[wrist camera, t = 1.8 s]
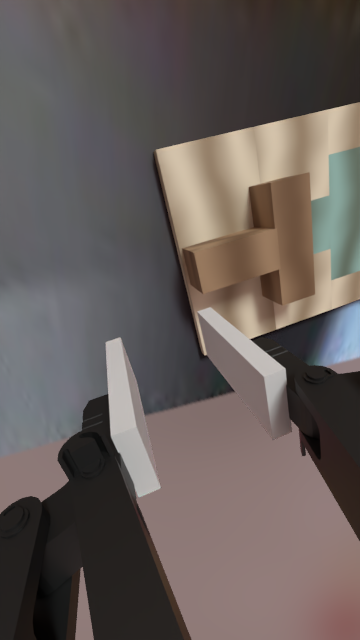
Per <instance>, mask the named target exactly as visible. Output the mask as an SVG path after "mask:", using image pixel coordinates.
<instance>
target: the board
mask: <svg viewBox="0 0 360 640" xmlns="http://www.w3.org/2000/svg"><path fill="white" fill-rule="evenodd" d="M153 153H154V157H155V161H156V165H157V169H158V173H159V178H160V182H161V186H162V190H163V194H164V198H165V202H166V207H167V211H168V215H169V219H170V223H171V227H172V232H173V236H174V240H175V244H176V248H177V252H178V257H179V261H180V265H181V269H182V273H183V277H184V281H185V286H186V290H187V294H188V298H189V302H190V306H191V311H192V315H193V319H194V323H195V327H196V331H197V336H198V340H199V344H200V348H201V351H202V353H203V354H204V355H207V353H206V348H205V344H204V340H203V335H202V331H201V327H200V322H199V318H198V314H197V312H198V311H201V310H204V309H207V308H209V307H211V308H212V309H213V310H214V311H216V312H217V313H218V314H219V315H220V316H222V317H223V318H224V319H225V320H227V321H228V322H229V323H230V324H232V325H233V326H234V327H235V328H236V329H238V330H239V331H240V332H241V333H243V334H244V335H245V336H246V337H247V338H249V339H252V338H254V337H257V336H260V335H263V334H265V333H268V332H271V331H274V330H276V329H279V328H282V327H285V326H287V325H290V324H293V323H296V322H298V321H301V320H304V319H307V318H310V317H312V316H315V315H318V314H321V313H323V312H326V311H329V310H332V309H334V308H337V307H340V306H343V305H345V304H348V303H351V302H354V301H356V300H359V299H360V102H359V103H355V104H350V105H346V106H342V107H337V108H333V109H329V110H325V111H320V112H316V113H312V114H307V115H303V116H299V117H295V118H290V119H286V120H282V121H277V122H273V123H269V124H264V125H260V126H256V127H252V128H247V129H243V130H239V131H234V132H230V133H226V134H222V135H217V136H213V137H209V138H204V139H200V140H196V141H191V142H187V143H183V144H179V145H174V146H170V147H166V148H161V149H157V150H155V151H154V152H153ZM308 172H310V190H311V212H312V234H313V256H314V278H315V295H312V296H309V297H307V298H304V299H301V300H298V301H295V302H292V303H289V304H286V305H284V306H282V305H280V304H278V303H276V302H274V301H272V300H270V299H267V298H265V297H263V296H262V288H261V280H260V276H257V277H254V278H251V279H248V280H245V281H242V282H239V283H236V284H233V285H230V286H227V287H224V288H220V289H217V290H214V291H211V292H208V293H205V294H202V293H201V292H199V291H198V290H197V289H195V288H194V287H193V286H191V284H190V280H189V276H188V272H187V267H186V263H185V259H184V254H183V250H182V248H185V247H188V246H191V245H195V244H198V243H202V242H205V241H208V240H212V239H215V238H219V237H222V236H225V235H229V234H232V233H236V232H239V231H242V230H246V229H249V228H253V227H254V225H253V217H252V209H251V201H250V193H249V187H250V186H254V185H258V184H261V183H265V182H269V181H273V180H276V179H280V178H284V177H289V176H293V175H298V174H303V173H308Z"/></svg>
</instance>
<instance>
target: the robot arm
mask: <svg viewBox="0 0 360 640" xmlns="http://www.w3.org/2000/svg"><path fill="white" fill-rule="evenodd" d="M197 314H198V318H199V322H200V327H201V331H202V335H203V340H204V344H205V348H206V353H207V356H208V357H209V358H210V360H211V361H212V362H213V364H214V365H215V366H216V367H217V369H218V370H219V371H220V373H221V374H222V375H223V376H224V378H225V379H226V380H227V382H228V383H229V384H230V385H231V387H232V388H233V389H234V391H235V392H236V393H237V394H238V396H239V397H240V398H241V400H242V401H243V402H244V403H245V405H246V406H247V407H248V409H249V410H250V411H251V412H252V414H253V415H254V416H255V417H256V419H257V420H258V421H259V423H260V424H261V425H262V427H263V428H264V429H265V430H266V432H267V433H268V434H269V435H270V437H271V438H272V439H273V440H274V439H276V438H279V437H281V436H283V435H286V434H288V433H290V432H292V428H291V420H292V421H293V422H294V423H295V424H296V425H297V426H298V428H299V436H300V447H301V453H302V456H305V455H306V452H305V448H306V449H307V451H308V453H309V455H310V456H311V458H312V460H313V461H314V463H315V465H316V467H317V468H318V470H319V472H320V473H321V475H322V477H323V479H324V480H325V482H326V484H327V486H328V487H329V489H330V491H331V492H332V494H333V496H334V498H335V499H336V501H337V503H338V504H339V506H340V508H341V510H342V511H343V513H344V515H345V516H346V518H347V520H348V522H349V523H350V525H351V527H352V529H353V530H354V532H355V534H356V535H357V537H358V539H359V541H360V371H358V372H351V373H344V374H337V373H336V372H335V371H333V370H331V369H330V368H327V367H324V366H315V365H314V366H309V365H307V364H306V363H304V362H303V361H302V360H300V359H299V358H297V357H296V356H295V355H293V354H292V353H290V352H289V351H287V350H286V349H285V348H283V347H281V345H279V344H278V343H276V342H275V341H274V340H271V339H267V338H264V337H261V338H258V339H255V340H253V341H251V340H250V339H249V338H247V337H246V336H245V335H244V334H243V333H241V332H240V331H239V330H238V329H236V328H235V327H234V326H233V325H232V324H230V323H229V322H228V321H227V320H225V319H224V318H223V317H222V316H220V315H219V314H218V313H217V312H216V311H214V310H213V309H212V308H211V307H209V308H207V309H204V310H201V311H198V312H197ZM106 358H107V377H108V394H107V395H104V396H101V397H98V398H96V399H93V400H90V401H89V402H88V404H87V406H86V407H85V409H84V411H83V423H82V431H81V432H78V433H77V434H75V435H74V436H72V437H71V438H70V439H69V440H68V441H67V442H66V443H65V444H64V445H63V446H62V448H61V450H60V451H59V454H58V462H59V464H60V465H61V467H62V469H63V470H64V472H65V474H66V475H67V477H68V479H69V481H68V482H67V484H66V485H65V486H63V487H62V488H61V489H59V490H58V491H57V492H55V493H54V494H52V495H51V496H50V497H48V498H47V499H45V500H44V501H43V502H40V500H39V499H38V498H36V497H32V496H30V497H25V498H22V499H20V500H18V501H16V502H14V503H12V504H11V505H10V506H9V507H7V508H6V509H5V510H4V511H3V512H2V513H1V514H0V640H75V633H76V620H77V619H76V618H77V607H78V594H79V581H80V568H81V567H83V571H84V577H85V584H86V590H87V596H88V603H89V610H90V615H91V622H92V629H93V635H94V640H191V637H190V635H189V632H188V630H187V627H186V625H185V622H184V620H183V617H182V615H181V612H180V609H179V607H178V605H177V602H176V599H175V597H174V594H173V592H172V589H171V587H170V584H169V582H168V579H167V576H166V574H165V572H164V569H163V566H162V564H161V561H160V559H159V556H158V554H157V551H156V549H155V546H154V544H153V541H152V538H151V536H150V533H149V531H148V528H147V526H146V523H145V521H144V518H143V516H142V513H141V510H140V508H139V506H138V504H137V501H136V494H135V491H136V492H137V495H138V497H142V496H144V495H146V494H149V493H151V492H153V491H155V490H158V489H160V488H161V486H160V481H159V477H158V473H157V468H156V464H155V460H154V455H153V451H152V446H151V442H150V438H149V433H148V429H147V425H146V420H145V416H144V412H143V407H142V403H141V398H140V394H139V390H138V385H137V381H136V378H135V376H134V373H133V370H132V367H131V365H130V362H129V359H128V357H127V354H126V351H125V348H124V346H123V343H122V340H121V337H120V338H117V339H114V340H111V341H108V342H106Z"/></svg>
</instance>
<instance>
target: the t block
mask: <svg viewBox="0 0 360 640" xmlns="http://www.w3.org/2000/svg"><path fill="white" fill-rule="evenodd" d="M249 193H250V201H251V209H252V217H253V225H254V227H253V228H249V229H246V230H242V231H239V232H236V233H232V234H229V235H225V236H222V237H219V238H215V239H212V240H208V241H205V242H202V243H198V244H195V245H191V246H188V247H185V248H182V250H183V254H184V259H185V263H186V267H187V272H188V276H189V280H190V284H191V286H193V287H194V288H195V289H197V290H198V291H199V292H201V293H202V294H205V293H208V292H211V291H214V290H217V289H220V288H224V287H227V286H230V285H233V284H236V283H239V282H242V281H245V280H248V279H251V278H254V277H257V276H260V280H261V288H262V296H263V297H265V298H267V299H270V300H272V301H274V302H276V303H278V304H280V305H282V306H284V305H286V304H289V303H292V302H295V301H298V300H301V299H304V298H307V297H309V296H312V295H315V278H314V256H313V234H312V212H311V190H310V172H308V173H303V174H298V175H293V176H289V177H284V178H280V179H276V180H273V181H269V182H265V183H261V184H258V185H254V186H250V187H249Z"/></svg>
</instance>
